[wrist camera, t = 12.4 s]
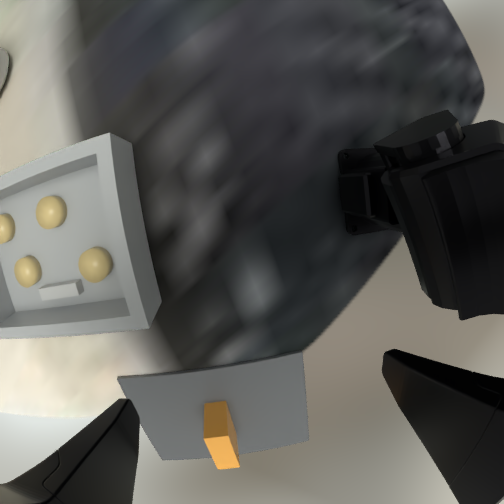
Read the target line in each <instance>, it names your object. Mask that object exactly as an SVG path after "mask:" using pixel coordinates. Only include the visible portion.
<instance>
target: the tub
mask: <svg viewBox="0 0 504 504" xmlns="http://www.w3.org/2000/svg"><path fill="white" fill-rule="evenodd" d="M161 302H162V300H161V296H160V292H159V288H158V284H157V280H156V276H155V272H154V268H153V263H152V259H151V254H150V250H149V245H148V240H147V235H146V230H145V225H144V220H143V215H142V209H141V203H140V198H139V191H138V185H137V179H136V172H135V165H134V157H133V149H132V143H130V142H128V141H126V140H124V139H122V138H120V137H118V136H116V135H114V134H111V133H107V134H104V135H101V136H97V137H94V138H91V139H88V140H85V141H82V142H79V143H77V144H74V145H71V146H68V147H65V148H63V149H60V150H58V151H55V152H52V153H50V154H47V155H45V156H43V157H40V158H38V159H35V160H33V161H31V162H29V163H26V164H24V165H22V166H20V167H18V168H16V169H13V170H11V171H9V172H7V173H5V174H3V175H1V176H0V339H21V338H45V337H63V336H77V335H90V334H101V333H112V332H122V331H131V330H140V329H149V328H150V326H151V324H152V322H153V319H154V317H155V315H156V313H157V311H158V309H159V307H160V305H161Z"/></svg>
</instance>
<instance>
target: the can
mask: <svg viewBox="0 0 504 504" xmlns="http://www.w3.org/2000/svg"><path fill="white" fill-rule="evenodd" d="M8 65H9V55H8V53H7V52H6V50H4V49H3V48H1V47H0V91H1V89H2V88H3V85H4V83H5V80H6V77H7V72H8Z"/></svg>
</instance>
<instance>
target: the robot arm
mask: <svg viewBox="0 0 504 504" xmlns="http://www.w3.org/2000/svg"><path fill="white" fill-rule="evenodd" d="M373 145H374V147H375V148H364V149H345V150H341V151H340V152H339V154H338V159H339V166H340V173H341V175H340V177H339V185H340V194H341V203H342V210H343V211H344V212H345V218H346V229H347V232H348V233H349V234H352V235H358V234H364V233H370V232H376V231H382V230H387V229H392V230H395V231H399V232H402V233H403V235H404V237H405V240H406V243H407V245H408V248H409V251H410V254H411V257H412V260H413V263H414V266H415V269H416V272H417V275H418V278H419V282H420V285H421V288H422V290H423V291H424V292H425V293H426V295H427V296H428V297H429V298H430V299H431V300H432V303H433V304H434V305H436V306H439V307H441V308H445V309H452V310H458V313H459V319H460V320H465V319H469V318H472V317H476V316H479V315H487V314H504V123H501V122H498V121H495V120H488V121H484V122H480V123H476V124H472V125H468V126H464V127H460V125H459V123H458V120H457V119H456V118H455V117H454V116H453V115H452V114H451V113H450V112H449V111H448V110H445V111H442V112H438V113H435V114H432V115H429V116H426V117H423V118H421V119H419V120H417V121H415V122H413V123H411V124H410V125H408V126H406V127H404V128H402V129H400V130H398V131H397V132H395V133H393V134H391V135H389V136H387V137H386V138H384V139H382V140H380V141H378V142H377V143H375V144H373ZM344 153H345V154H347V159H345V158H344V157H343V154H344ZM352 226H355V230H354V231H352V229H351V228H352ZM382 373H383V376H384V378H385V380H386V382H387V384H388V386H389V388H390V390H391V392H392V394H393V396H394V398H395V400H396V402H397V404H398V406H399V407H400V409H401V411H402V412H403V414H404V415H405V417H406V418H407V420H408V421H409V423H410V424H411V426H412V428H413V429H414V431H415V432H416V434H417V435H418V437H419V439H420V440H421V442H422V443H423V445H424V446H425V448H426V449H427V451H428V452H429V454H430V456H431V457H432V459H433V461H434V462H435V464H436V466H437V467H438V469H439V470H440V472H441V473H442V475H443V477H444V478H445V480H446V482H447V484H448V485H450V486H449V487H450V489H451V490H452V492H453V494H454V496H455V497H456V499H457V501H458V502H459V504H499V503H500V502H501V501H502V500H503V499H504V378H499V377H493V376H489V375H484V374H480V373H476V372H471V371H469V370H465V369H462V368H458V367H454V366H451V365H447V364H444V363H440V362H437V361H433V360H430V359H427V358H423V357H420V356H417V355H413V354H410V353H407V352H404V351H400V350H397V349H392V350H389V351H386V352H385V353H384V356H383V365H382ZM139 428H140V417H139V414H138V412H137V410H136V408H135V406H134V404H133V402H132V401H131V400H130V399H128V398H127V399H118V400H117V401H116V402H115V403H113V404H112V405H111V406H110V407H109V408H108V409H106V410H105V411H104V412H103V413H102V414H100V415H99V416H98V417H97V418H96V419H94V420H93V421H92V422H91V423H90V424H88V425H87V426H86V427H85V428H84V429H82V430H81V431H80V432H79V433H77V434H76V435H75V436H74V437H72V438H71V439H70V440H69V441H68V442H66V443H65V444H64V445H63V446H61V447H60V448H59V449H58V450H56V451H55V452H54V453H53V454H52V455H50V456H49V457H47V458H46V459H45V460H44V461H42V462H41V463H39V464H38V465H36V466H35V467H33V468H32V469H30V470H29V471H27V472H25V473H24V474H22V475H20V476H19V477H17V478H15V479H14V480H12V481H10V482H8V483H4V484H0V504H132V500H133V490H134V483H135V476H136V468H137V462H138V453H139Z"/></svg>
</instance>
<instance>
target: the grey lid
mask: <svg viewBox="0 0 504 504" xmlns="http://www.w3.org/2000/svg"><path fill="white" fill-rule="evenodd" d="M117 380H118V382H119V384H120V386H121V388H122V390H123V392H124V394H125V396H126V398H128V399H130V400H131V401H132V402H133V404H134V406H135V408H136V410H137V412H138V414H139V417H140V424H141V426H142V428H143V429H144V431H145V433H146V435H147V436H148V438H149V440H150V441H151V443H152V445H153V446H154V448H155V449H156V451H157V452H158V454H159V456H160V457H161V459H162V460H184V459H200V458H213V460H214V462H215V464H216V466H217V468H218V469H219V470H220V469H229V468H237V467H240V462H239V454H244V453H251V452H256V451H263V450H268V449H273V448H278V447H282V446H287V445H291V444H296V443H300V442H304V441H308V440H309V432H308V416H307V402H306V389H305V376H304V365H303V353H302V350H298V351H294V352H289V353H285V354H280V355H276V356H271V357H266V358H261V359H256V360H250V361H245V362H239V363H234V364H228V365H221V366H215V367H208V368H201V369H194V370H186V371H177V372H168V373H158V374H146V375H133V376H118V378H117Z"/></svg>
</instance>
